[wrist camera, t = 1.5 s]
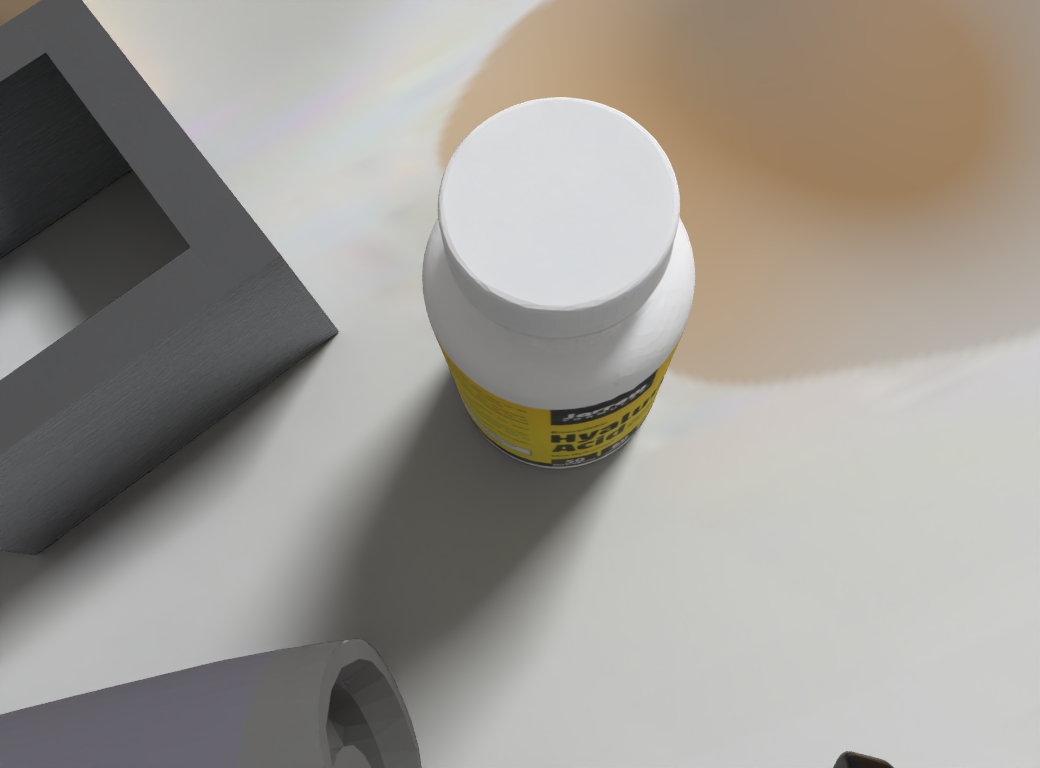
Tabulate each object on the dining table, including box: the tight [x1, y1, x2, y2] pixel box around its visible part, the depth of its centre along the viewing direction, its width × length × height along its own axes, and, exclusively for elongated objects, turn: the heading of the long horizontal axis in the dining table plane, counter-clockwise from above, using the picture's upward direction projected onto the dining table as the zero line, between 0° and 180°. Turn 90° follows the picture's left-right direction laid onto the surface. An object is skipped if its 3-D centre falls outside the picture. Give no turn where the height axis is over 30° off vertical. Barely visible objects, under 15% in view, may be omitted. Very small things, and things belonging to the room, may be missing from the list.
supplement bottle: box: [422, 97, 695, 469], centre depth 18 cm, size 5×5×10 cm
